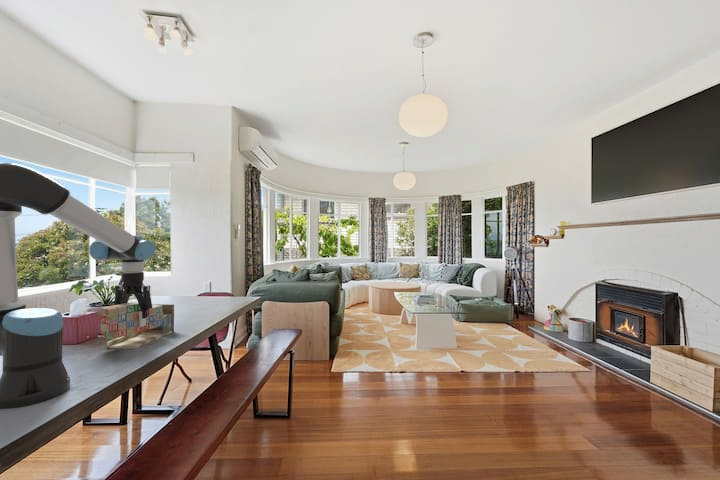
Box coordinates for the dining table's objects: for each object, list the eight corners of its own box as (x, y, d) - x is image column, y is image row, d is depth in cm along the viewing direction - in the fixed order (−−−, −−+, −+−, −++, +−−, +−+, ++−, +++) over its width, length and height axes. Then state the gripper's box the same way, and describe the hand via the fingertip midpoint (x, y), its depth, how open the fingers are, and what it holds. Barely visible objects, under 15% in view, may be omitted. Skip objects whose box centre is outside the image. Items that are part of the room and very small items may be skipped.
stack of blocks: (154, 324, 144) (154, 297, 144) (163, 326, 142) (163, 298, 141) (100, 338, 125) (100, 307, 125) (109, 340, 122) (109, 308, 122)
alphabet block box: (135, 348, 126) (135, 316, 126) (106, 348, 127) (106, 315, 127) (173, 331, 150) (174, 304, 150) (149, 331, 151) (150, 304, 151)
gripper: (162, 271, 136) (162, 323, 136) (117, 270, 137) (117, 323, 137) (149, 273, 128) (150, 328, 128) (102, 272, 130) (102, 327, 130)
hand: (133, 325), depth 133 cm, fingers closed on stack of blocks, 8 cm apart
